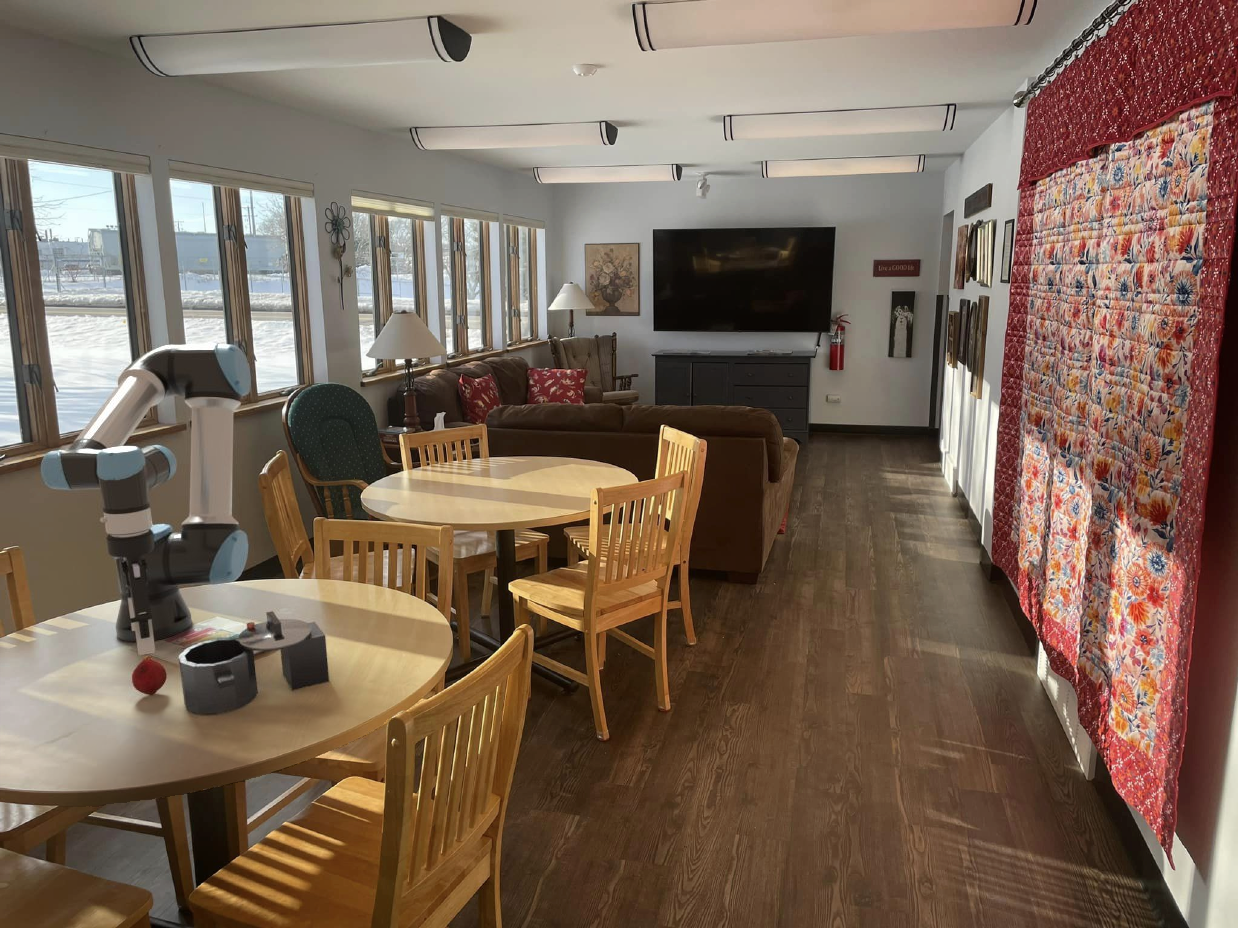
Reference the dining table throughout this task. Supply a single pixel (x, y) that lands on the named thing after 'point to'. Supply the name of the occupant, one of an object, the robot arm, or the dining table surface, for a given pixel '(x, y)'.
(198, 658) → the pot
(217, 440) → the robot arm
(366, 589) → the dining table surface
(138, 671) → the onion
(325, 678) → the block
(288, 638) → the lid
